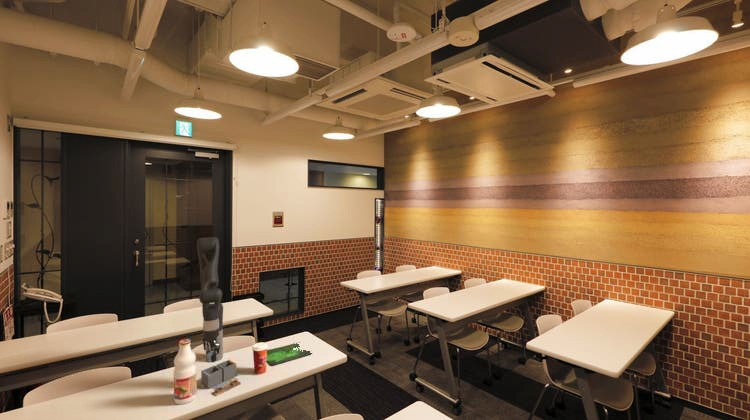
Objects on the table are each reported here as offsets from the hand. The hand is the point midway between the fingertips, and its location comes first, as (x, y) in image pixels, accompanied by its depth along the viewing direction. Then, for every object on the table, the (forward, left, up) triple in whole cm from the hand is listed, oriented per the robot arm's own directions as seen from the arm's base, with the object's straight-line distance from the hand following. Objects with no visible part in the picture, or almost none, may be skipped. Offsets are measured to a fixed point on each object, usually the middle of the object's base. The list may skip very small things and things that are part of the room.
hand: (211, 360), depth 168 cm
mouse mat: (+4, +45, -13) cm, 47 cm away
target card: (+6, +4, -12) cm, 14 cm away
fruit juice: (+3, -14, -12) cm, 19 cm away
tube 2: (0, +8, -12) cm, 15 cm away
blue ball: (0, 0, +2) cm, 2 cm away
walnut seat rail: (+11, +2, -12) cm, 17 cm away
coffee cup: (+10, +22, -12) cm, 27 cm away
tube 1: (0, 0, -12) cm, 12 cm away
